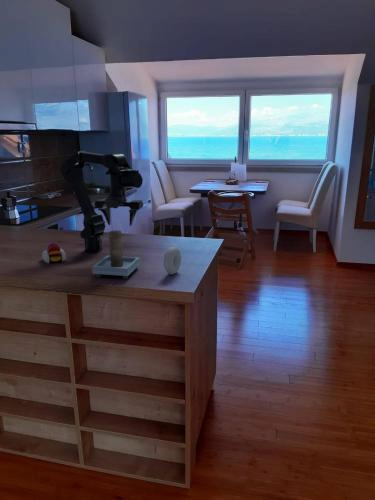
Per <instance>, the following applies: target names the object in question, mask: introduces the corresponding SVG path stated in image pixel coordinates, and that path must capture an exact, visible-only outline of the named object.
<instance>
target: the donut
mask: <svg viewBox="0 0 375 500" xmlns="http://www.w3.org/2000/svg"><path fill="white" fill-rule="evenodd" d="M181 263H182V254H181V251H180V249H179V248H178V247H177V246H170V247H169V248H168V249H167V250H166V251H165V254H164V256H163V268H164V271H165V272H166V274H169V275H174V274H176V273H177V272H178V271H179V270H180V267H181V265H182V264H181Z"/></svg>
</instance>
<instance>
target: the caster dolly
mask: <svg viewBox="0 0 375 500" xmlns="http://www.w3.org/2000/svg"><path fill="white" fill-rule="evenodd" d="M140 265H141V258H140V257H138V256H137V257H135V256H123V266H122V267H111V260H110V255H105V257H103V258H102V259H101V260H99V261H98V262H96V263H95V264H94V265H92V267H91V268H92V269H91V270H92V275H93V274H95V276H96V278H97V279H98V278H101V277H102V275H109V276H122V279H123V280H129V275H130V274H132V273H133V272H134V271H137V270H138V267H139V266H140Z"/></svg>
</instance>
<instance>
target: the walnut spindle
mask: <svg viewBox="0 0 375 500" xmlns="http://www.w3.org/2000/svg"><path fill="white" fill-rule="evenodd" d="M108 243H109V256H110V260H111V267H122V266H123V257H124V255H123V253H124V252H123V238H122V230H110V231H108Z"/></svg>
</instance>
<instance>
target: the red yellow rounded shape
mask: <svg viewBox="0 0 375 500" xmlns="http://www.w3.org/2000/svg"><path fill="white" fill-rule="evenodd" d="M41 257H42V259H43V262H44V263H46V264H50V261H51V262H58V261H61V262H65V261H66V260H67V253H66V252H65V250H64V249H62V248H61V247H60V245H59V244H58V243H56V242H50V243H49V244H48V245H47V248H46V250H44V251H42V253H41Z"/></svg>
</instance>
